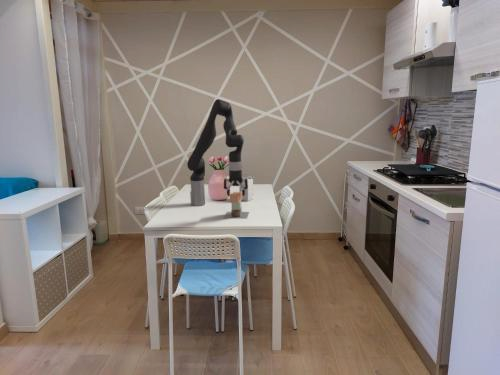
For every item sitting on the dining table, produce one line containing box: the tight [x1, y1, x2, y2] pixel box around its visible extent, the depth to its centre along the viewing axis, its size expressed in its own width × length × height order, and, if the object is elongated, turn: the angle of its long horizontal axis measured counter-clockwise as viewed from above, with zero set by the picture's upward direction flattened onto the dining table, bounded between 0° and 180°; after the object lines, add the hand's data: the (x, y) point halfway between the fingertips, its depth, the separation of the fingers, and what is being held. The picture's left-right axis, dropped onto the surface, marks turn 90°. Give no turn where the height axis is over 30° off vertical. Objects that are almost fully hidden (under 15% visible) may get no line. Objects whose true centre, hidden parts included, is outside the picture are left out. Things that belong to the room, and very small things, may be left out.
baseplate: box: [223, 211, 250, 220], centre depth 220 cm, size 14×14×2 cm
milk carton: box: [238, 173, 254, 202], centre depth 261 cm, size 7×7×19 cm
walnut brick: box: [230, 207, 243, 217], centre depth 219 cm, size 5×8×4 cm, turn 174°
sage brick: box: [230, 200, 242, 210], centre depth 218 cm, size 5×8×4 cm, turn 176°
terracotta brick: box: [229, 191, 243, 203], centre depth 217 cm, size 5×8×4 cm, turn 164°
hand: (236, 195), depth 217 cm, fingers open, 8 cm apart
